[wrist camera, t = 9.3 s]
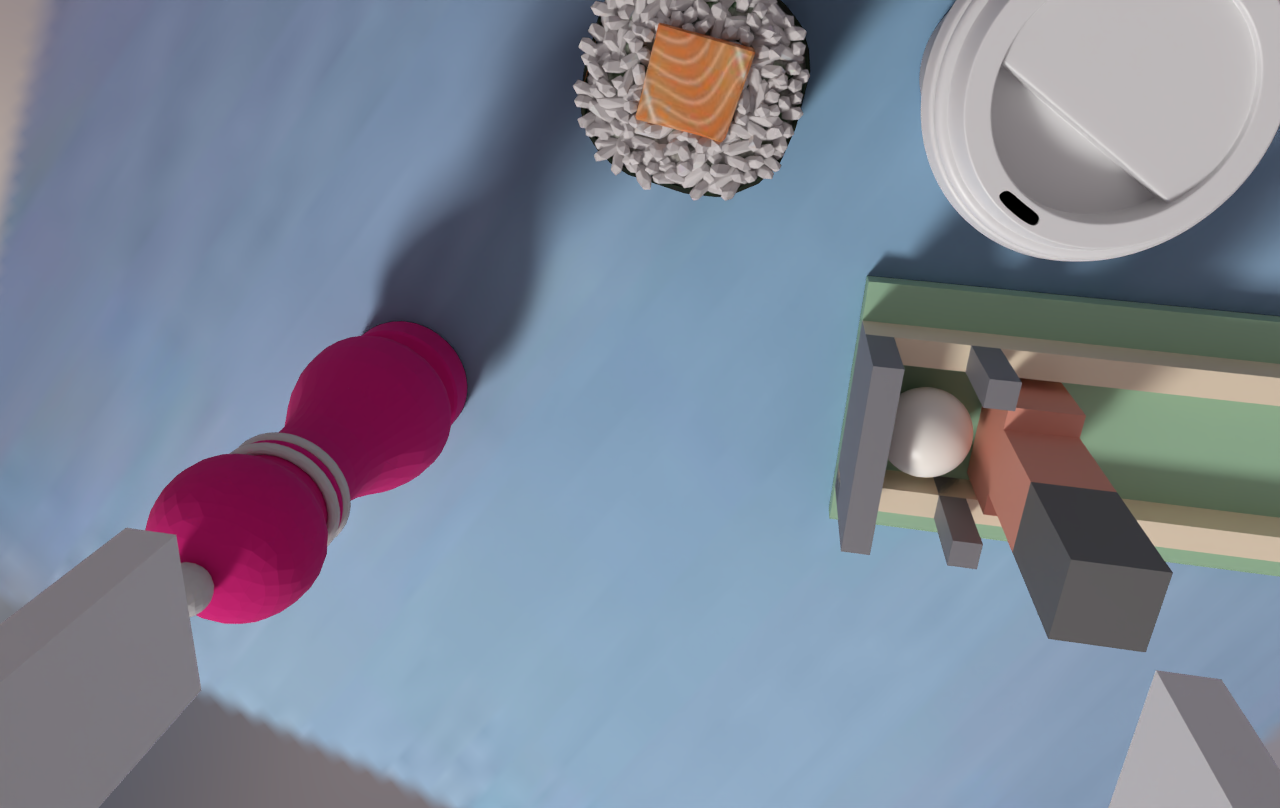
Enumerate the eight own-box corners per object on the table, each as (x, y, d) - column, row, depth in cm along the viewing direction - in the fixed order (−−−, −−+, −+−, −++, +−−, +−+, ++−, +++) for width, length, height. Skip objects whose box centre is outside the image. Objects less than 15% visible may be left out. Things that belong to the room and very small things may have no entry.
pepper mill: (433, 468, 49) (219, 736, 31) (318, 388, 48) (28, 614, 30) (504, 368, 46) (314, 597, 28) (383, 281, 45) (106, 458, 27)
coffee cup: (840, 27, 38) (869, 32, 24) (1072, -115, 35) (1254, -202, 21) (941, 229, 40) (1018, 337, 27) (1165, 113, 37) (1382, 167, 24)
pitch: (867, 275, 42) (880, 322, 35) (1394, 327, 39) (1512, 388, 33) (828, 508, 46) (834, 586, 40) (1297, 568, 44) (1384, 662, 37)
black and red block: (989, 372, 41) (1079, 531, 28) (1059, 380, 41) (1182, 544, 28) (966, 472, 43) (1041, 663, 30) (1033, 480, 43) (1136, 677, 30)
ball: (903, 406, 38) (997, 410, 38) (875, 371, 42) (961, 375, 42) (886, 492, 40) (977, 495, 40) (861, 451, 43) (944, 454, 44)
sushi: (636, -55, 38) (598, -73, 31) (832, 0, 38) (842, -4, 30) (591, 141, 41) (548, 167, 34) (771, 193, 41) (767, 231, 34)
